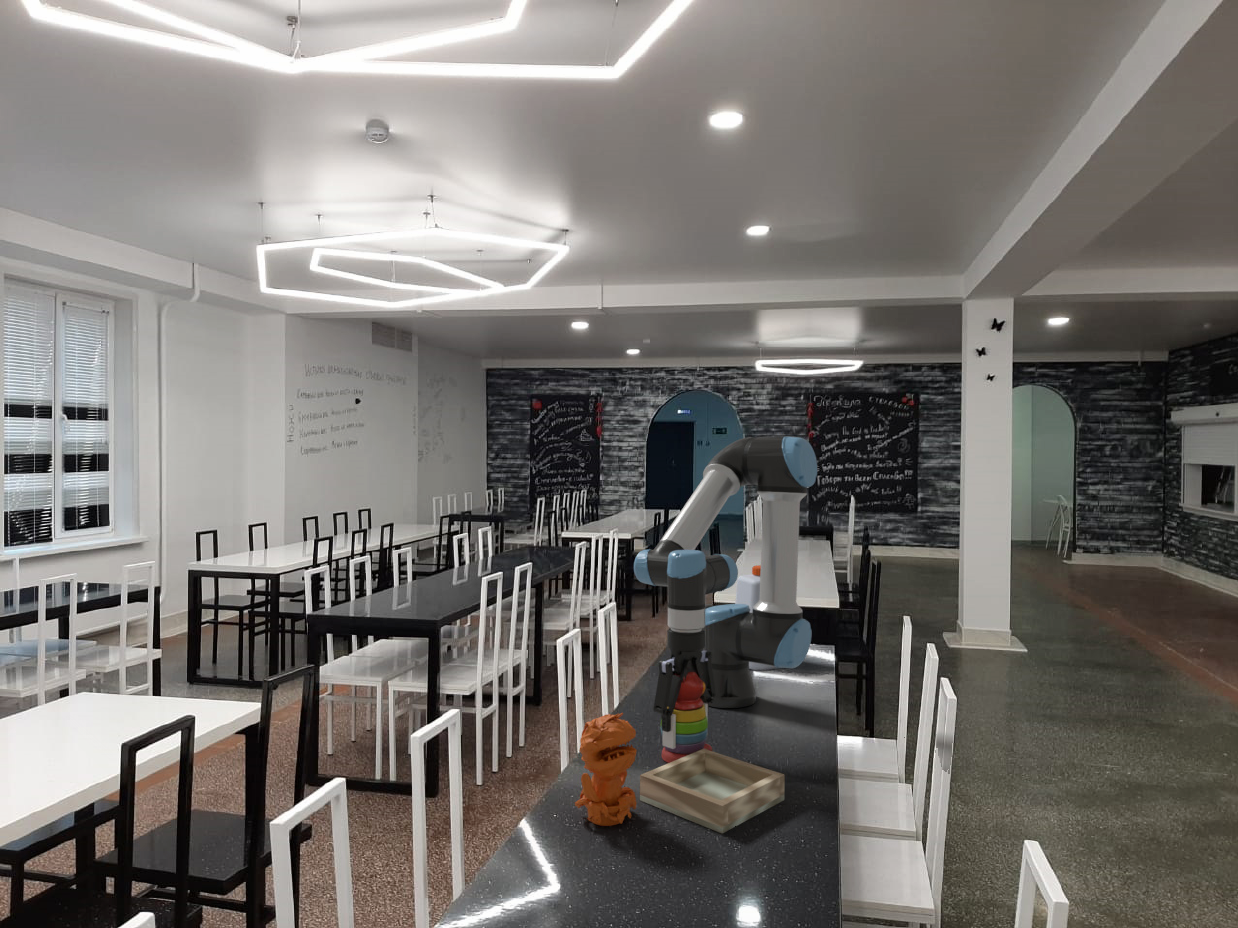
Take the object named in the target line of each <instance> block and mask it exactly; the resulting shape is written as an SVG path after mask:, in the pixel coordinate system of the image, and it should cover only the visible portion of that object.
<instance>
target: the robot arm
mask: <svg viewBox="0 0 1238 928" xmlns="http://www.w3.org/2000/svg"><path fill="white" fill-rule="evenodd" d="M817 476H818V462H817V456H816V453H815V451H814V449H813V447H812V445H811V443H810V442H809V441H808V440H806V439H805V438H803V437H796V436H763V437H762V436H759V437H757V436H748V437H743V438H740V439H738V440H735V441H733V442H731V443H729V444H728V445H727V446H725V447H724V448H722V449H721V450H720V451H719V452H717V453H716V455H715V456H713V457H712V458H711V460H710V461H709V462H708V464H707V465H706V466H705V468H704V470H703V472H702V479H701V480H700V483H699V484H698V485H697V487H696V488H695V490H694V491H693V493H692V494H691V496H690V497H689V499H687V501H686V503H685V504H684V506H683V508H682V509H681V510H680V512H678V515H676V517H675V519H674V520H673V522H672V523H671V524H670V525H669V527H668V528H667V530H666V531H665V533H664V535H663V536H662V537H661V539H660V540H659V542H658V543H657V545H656V546H655V548H654V549H651V548H649V549H642V550H641V551H639V552H638V554H636V556H635V559H634V562H633V572H634V575H635V577H636V580H637V581H639V582H640V583H643V584H646V585H651V586H654V587H657V586H658V587H667V626H668V629H667V631H666V632H667V634H666V635H667V636H666V646H667V649H669V650H670V654H669V655H670V656H669V658H668V659H667V660H665V661H664V660H661V659H660V661H658V680H657V685H656V691H655V698H654V703H653V710H652V711H653V712H654V713H658V714H660V716H661V717H660V730H661V729H662V731H663V739H662V746H663V747H664V746H665V747H668V748H671V749H674V748H676V715H675V714H673V711H674V708H675V704H676V701H677V698H678V695H679V692H680V688H681V683H682V682H683V679H684V676H685V679H686V676H687V673H689V672H695V673H696V674H697V675H698V677H699V678H700V679H701V680H702V681H703V682H704V683H705V685H706V689H705V691H704V693H703V694H702V695H701V697H700V699H701V700H702V701H703V705H704V708H705V712H706V717H707V722H708V717H709V710H710V709H709V708H710V707H711V708H712V707H713V708H721V709H739V708H745V707H748V706H752V705H753V704H755V703H756V702H757V691H756V688H755V685H754V681H753V678H752V675H751V674H752V673H751V671H750V669H749V662H754V663H760V664H765V665H771V666H775V667H777V668H779V669H784V668H785V669H795V668H797V667H799V666H800V665H802V663H803V662H804V660H805V658H806V656H807V655H808V652H809V650H810V646H811V642H812V635H813V634H812V628H811V623H810V622H809V620H807V619H805V618H803V609H802V608H801V607H800V605H798V602H797V595H798V594H797V591H798V589H797V587H798V567H799V565H798V563H799V559H798V558H799V538H800V537H799V536H800V509H801V508H800V507H801V506H800V504H801V501H802V499H803V498H805V497H806V496H807V494H808V492H807V491H808V490H807V489H808V488H810V487H812V486H813V485H814V484H815V483H816V480H817V479H816V478H817ZM748 485H751V486H752V485H753V486H756V487H757V488H756V493H757V494H758V495H759V497H760V498H761V499H762V520H761V523H762V525H761V527H762V528H761V546H760V549H761V551H760V565H761V573H760V600H759V601H758V603H756V604H755V605H754V606H753V613H750V608H749V606H748V605H746V604H735V603H730V604H720V605H719V604H718V605H713V606H710V607H707V608H706V595H708V594H709V595H710V594H713V593H717V592H723V591H725V590H726V589H729V588H732V587H733V586H734V585H735V583H737V579H738V577H739V576H738V575H739V569H738V566H737V563H736V562H735V560H734V559H733V558H732V557H731V556H729V555H727V554H725V553H723V554H721V553H720V554H719V553H714V554H712V555H707V554H705V553H704V551H702V550H699V549H698V550H696V548H697V546H698V545H699V544H700V542H701V540H702V539H703V537H704V536H705V534H706V533H707V531H708V529H709V528H710V527H711V525H712V524H713V522H714V520H715V519H716V517H717V516H718V515H719V513H720V511H721V510H722V508H723V507H724V505H725V504H726V502H727V500H728V499H729V497H730V496H734V495H736V494H737V493H738V492H739V491H740V489H741V487H745V486H748ZM780 667H782V668H780ZM675 674H676V675H680V676H676V675H675ZM667 707H668V708H667ZM707 728H708V727H707ZM707 733H708V730H707Z"/></svg>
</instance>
